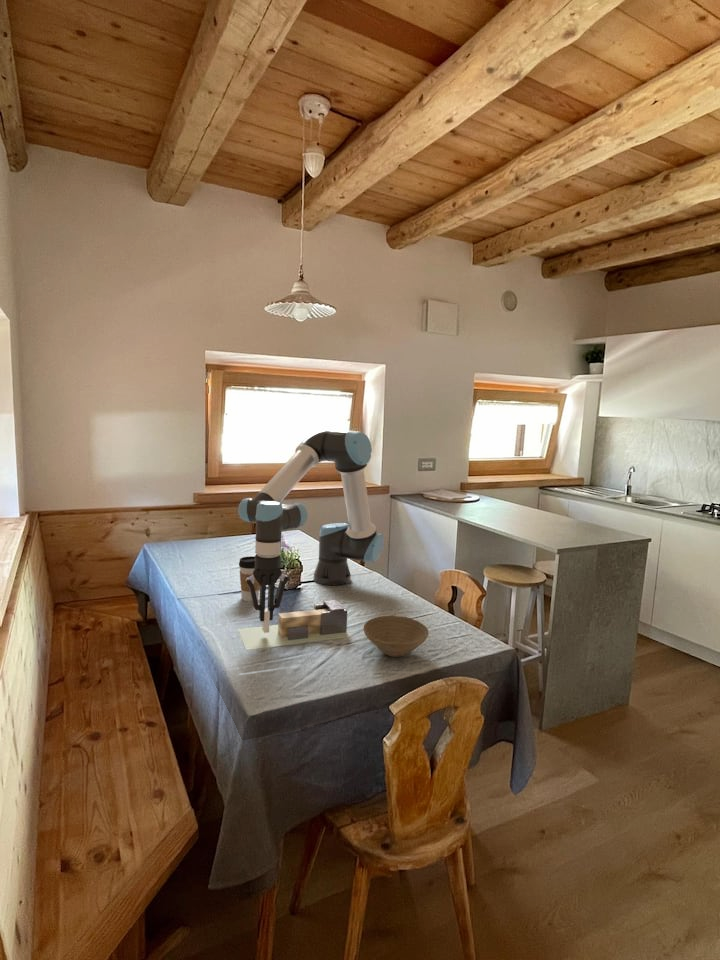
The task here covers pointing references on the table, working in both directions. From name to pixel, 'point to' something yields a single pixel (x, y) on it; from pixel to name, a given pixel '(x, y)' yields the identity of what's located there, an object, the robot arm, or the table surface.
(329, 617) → the end cap
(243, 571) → the coffee cup
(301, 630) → the open saddle
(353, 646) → the table surface
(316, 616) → the pine slat
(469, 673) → the table surface
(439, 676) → the table surface
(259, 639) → the sage board
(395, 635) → the bowl
